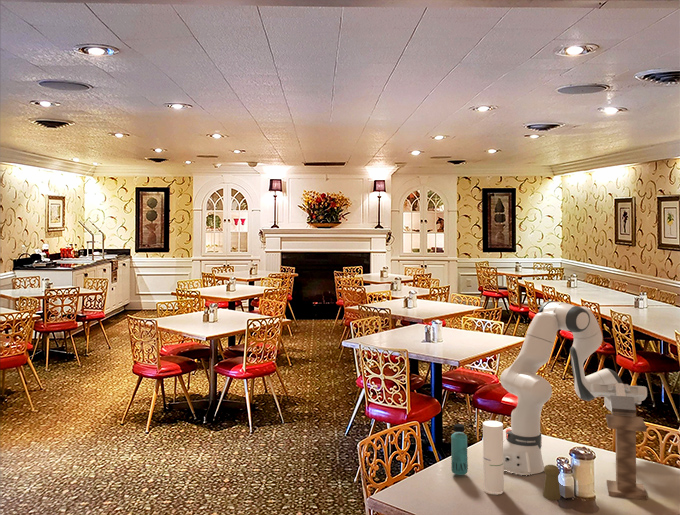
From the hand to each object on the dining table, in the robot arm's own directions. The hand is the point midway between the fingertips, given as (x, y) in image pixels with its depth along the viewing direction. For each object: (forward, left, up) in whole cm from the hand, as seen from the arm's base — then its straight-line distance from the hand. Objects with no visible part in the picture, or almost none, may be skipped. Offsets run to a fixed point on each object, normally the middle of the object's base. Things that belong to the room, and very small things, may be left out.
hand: (619, 385), depth 223 cm
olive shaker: (-25, -32, -34) cm, 53 cm away
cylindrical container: (-45, -34, -34) cm, 66 cm away
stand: (0, -20, -34) cm, 39 cm away
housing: (0, -6, -4) cm, 7 cm away
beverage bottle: (-59, -24, -34) cm, 72 cm away
